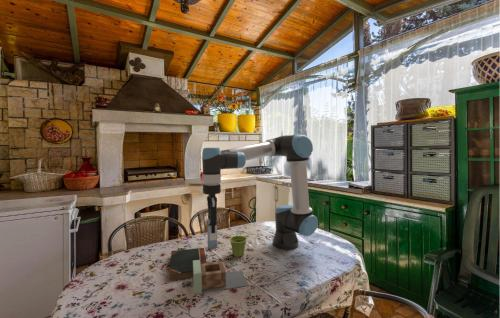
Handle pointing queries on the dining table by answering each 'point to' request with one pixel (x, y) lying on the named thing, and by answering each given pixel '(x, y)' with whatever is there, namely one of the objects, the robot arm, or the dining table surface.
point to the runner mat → (231, 281)
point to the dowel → (212, 243)
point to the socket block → (213, 275)
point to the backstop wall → (197, 276)
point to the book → (185, 262)
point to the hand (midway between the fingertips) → (212, 237)
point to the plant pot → (238, 245)
